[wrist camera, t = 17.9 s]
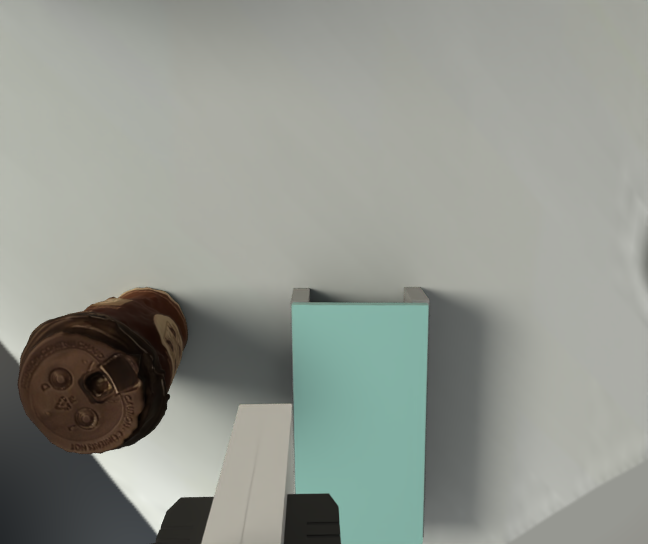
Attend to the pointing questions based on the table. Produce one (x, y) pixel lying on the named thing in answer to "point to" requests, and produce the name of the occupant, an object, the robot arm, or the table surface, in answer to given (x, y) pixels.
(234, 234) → the table surface
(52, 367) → the coffee cup
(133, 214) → the table surface
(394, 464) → the cover
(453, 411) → the table surface
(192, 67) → the table surface
